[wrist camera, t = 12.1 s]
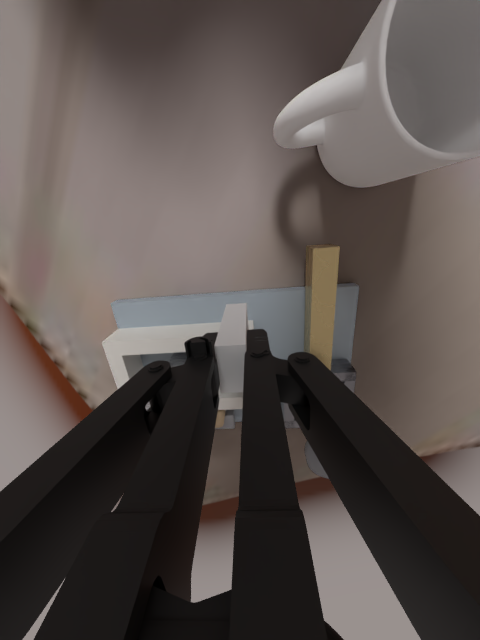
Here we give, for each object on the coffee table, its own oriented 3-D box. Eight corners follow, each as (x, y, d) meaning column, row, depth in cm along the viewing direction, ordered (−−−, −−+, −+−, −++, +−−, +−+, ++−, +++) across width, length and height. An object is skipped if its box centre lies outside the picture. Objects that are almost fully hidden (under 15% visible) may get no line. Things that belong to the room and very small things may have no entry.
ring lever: (278, 248, 21) (281, 251, 18) (358, 241, 20) (372, 243, 18) (281, 411, 28) (284, 428, 25) (341, 409, 27) (349, 426, 25)
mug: (273, 207, 21) (294, 195, 11) (259, 87, 18) (270, -70, 8) (418, 178, 20) (579, 136, 10) (430, 43, 16) (678, -203, 7)
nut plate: (116, 299, 25) (36, 346, 15) (354, 282, 23) (424, 323, 14) (151, 417, 31) (109, 502, 21) (341, 410, 29) (383, 498, 20)
